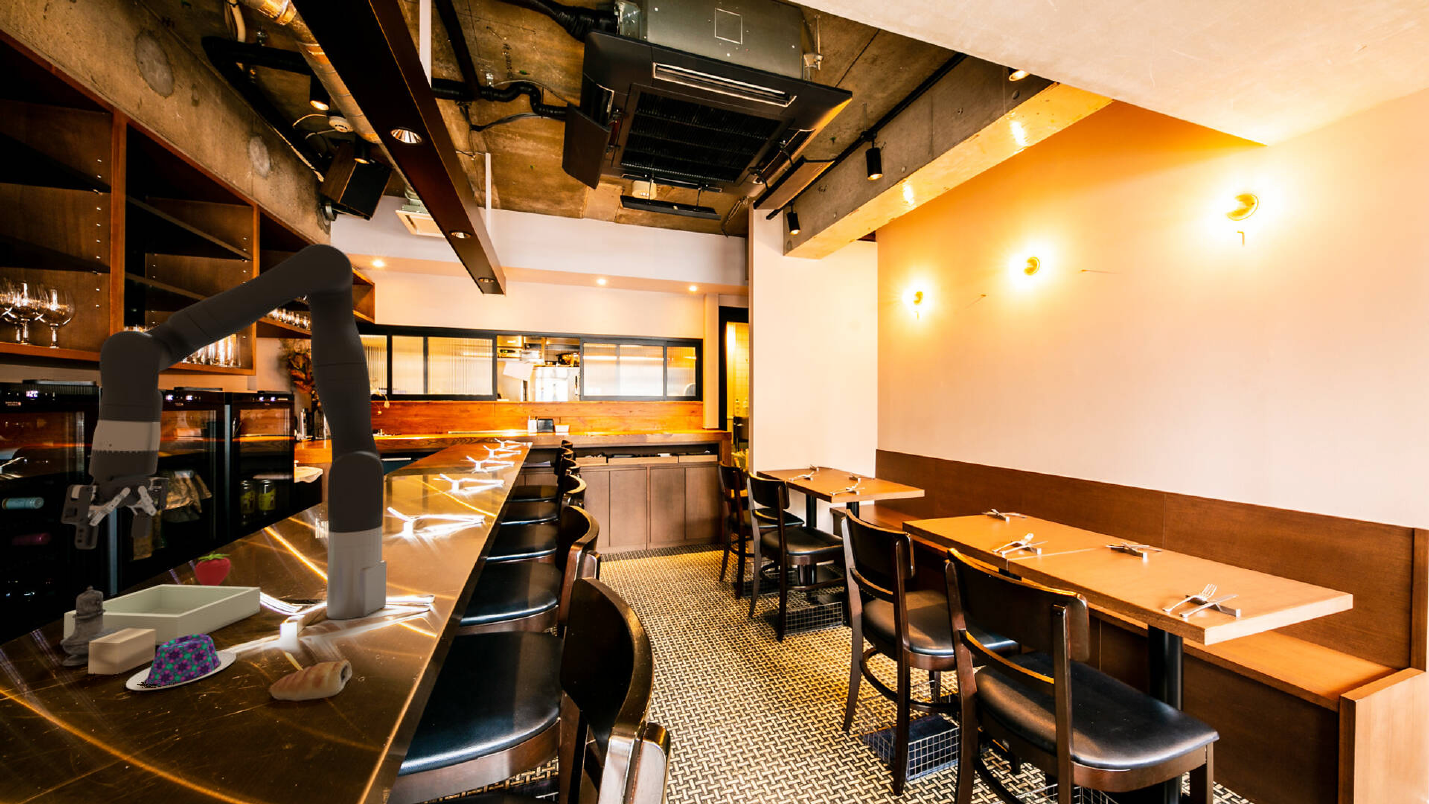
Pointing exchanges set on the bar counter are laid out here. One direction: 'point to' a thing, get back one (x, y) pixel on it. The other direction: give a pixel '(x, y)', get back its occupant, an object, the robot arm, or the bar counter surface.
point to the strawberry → (212, 569)
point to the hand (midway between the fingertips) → (114, 542)
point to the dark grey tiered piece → (85, 627)
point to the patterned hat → (182, 662)
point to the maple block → (121, 651)
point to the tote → (177, 610)
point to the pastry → (313, 682)
